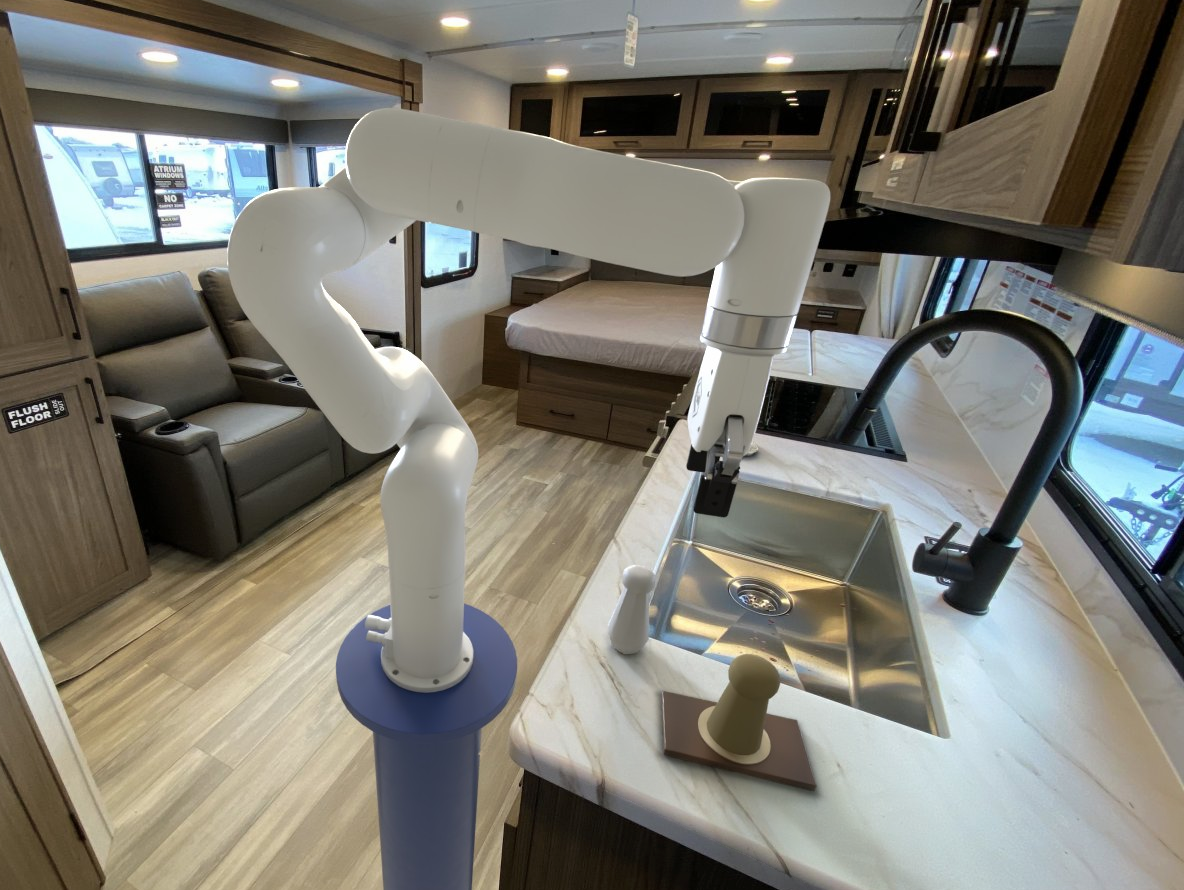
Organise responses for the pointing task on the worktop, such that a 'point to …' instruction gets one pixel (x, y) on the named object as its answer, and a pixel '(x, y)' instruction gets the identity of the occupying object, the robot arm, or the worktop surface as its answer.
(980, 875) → the worktop surface
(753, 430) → the robot arm
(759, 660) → the pepper shaker
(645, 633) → the salt shaker
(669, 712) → the serving board
